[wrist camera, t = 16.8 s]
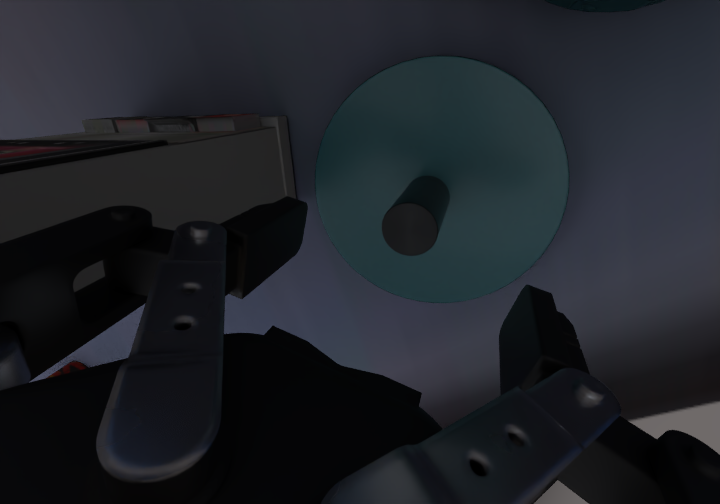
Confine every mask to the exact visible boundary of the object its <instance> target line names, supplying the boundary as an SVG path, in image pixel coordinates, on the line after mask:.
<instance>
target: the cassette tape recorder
mask: <svg viewBox="0 0 720 504" xmlns="http://www.w3.org/2000/svg"><path fill="white" fill-rule="evenodd" d="M82 123H83V126H84V129H85V132H82V133H73V134H63V135H54V136H44V137H35V138H25V139H16V140H0V244H1V243H4V242H7V241H9V240H12V239H15V238H18V237H21V236H24V235H27V234H30V233H33V232H36V231H39V230H42V229H45V228H48V227H51V226H54V225H57V224H59V223H62V222H65V221H68V220H71V219H74V218H77V217H80V216H83V215H86V214H89V213H92V212H95V211H98V210H101V209H104V208H107V207H112V206H121V205H127V206H136V207H141V208H144V209H146V210H148V211H149V212H150V213H151V214H152V223H153V227H159V228H164V229H169V230H174V231H175V229H176V228H177V227H178V226H179V225H181V224H183V223H186V222H191V221H208V222H213V223H216V224H220V223H222V222H225V221H227V220H229V219H231V218H233V217H235V216H237V215H241V213H243V212H245V211H248V210H249V209H251V208H253V207H255V206H257V205H262V204H268V203H274V202H276V201H278V200H280V199H282V198H284V197H286V196H289V197H292V198H295V199H296V193H295V185H294V176H293V168H292V159H291V151H290V142H289V134H288V126H287V117H286V116H264V117H259V114H224V115H206V116H180V117H147V116H146V117H115V118H102V119H89V120H82ZM104 276H105V273H104V267H103V261H99V262H97V263H95V264H93V265H91V266H89V267H87V268H85V269H83V270H82V271H80V272H79V273H78V275H77V276H76V277H75V279H74V282H73V289H74V292H76V291H78V290H80V289H82V288H84V287H85V286H87V285H89V284H91V283H93V282H95V281H97V280H99V279H101V278H102V277H104Z"/></svg>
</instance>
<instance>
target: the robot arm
mask: <svg viewBox="0 0 720 504" xmlns="http://www.w3.org/2000/svg"><path fill="white" fill-rule="evenodd" d="M307 210H308V206H307V203H306V202H303V201H300V200H298V199H295V198H292V197H289V196H286V197H284V198H282V199H280V200H278V201H276V202H274V203H268V204H262V205H257V206H255V207H253V208H251V209H249V210H248V211H245V212H243V213H241V215H237V216H235V217H233V218H231V219H229V220H227V221H225V222H222V223H220V224H216V223H213V222H208V221H191V222H186V223H183V224H181V225H179V226H178V227H177V228H176V229H175V231H174V230H169V229H164V228H159V227H153V223H152V214H151V213H150V212H149V211H148V210H146V209H144V208H141V207H136V206H127V205H121V206H112V207H107V208H104V209H101V210H98V211H95V212H92V213H89V214H86V215H83V216H80V217H77V218H74V219H71V220H68V221H65V222H62V223H59V224H57V225H54V226H51V227H48V228H45V229H42V230H39V231H36V232H33V233H30V234H27V235H24V236H21V237H18V238H15V239H12V240H9V241H7V242H4V243H1V244H0V504H534V502H536V501H537V500H538V499H539V498H540V497H541V496H542V494H544V493H545V492H546V491H547V490H548V489H549V488H550V487H551V486H552V485H553V484H554V483H555V482H556V481H557V480H559V481H560V482H561V483H563V484H564V485H565V486H567V487H568V488H569V489H571V490H572V491H573V492H574V493H576V494H577V495H578V496H580V497H581V498H582V499H584V500H585V501H586V502H588V503H589V504H720V455H719V454H718V453H717V452H715V451H714V450H713V449H711V448H710V447H709V446H708V445H706V444H705V443H703V442H701V441H700V440H698V439H696V438H695V437H692V436H691V435H688V434H686V433H684V432H681V431H677V430H669V431H666V432H665V433H664V434H663V435H662V436H660V437H659V438H658V439H655V438H654V437H652V436H651V435H649V434H647V433H646V432H644V431H643V430H641V429H639V428H638V427H636V426H635V425H633V424H632V423H630V422H628V421H627V420H625V419H624V418H622V417H621V416H620V414H621V406H620V404H619V402H618V400H617V398H616V397H615V395H614V394H613V393H612V392H611V391H610V390H609V389H608V388H607V387H606V386H605V385H604V384H603V383H602V382H600V381H599V380H598V379H596V378H595V377H593V376H591V375H590V373H589V370H588V367H587V364H586V362H585V359H584V356H583V353H582V350H581V349H580V344H579V341H578V339H577V335H576V332H575V330H574V327H573V325H572V324H571V323H570V321H569V320H568V319H567V318H566V317H565V315H564V314H563V313H560V312H558V311H557V310H556V306H555V303H554V299H553V296H552V294H551V293H549V292H546V291H544V290H541V289H538V288H535V287H533V286H530V285H526V286H525V287H524V288H523V289H522V291H521V292H520V294H519V296H518V298H517V299H516V301H515V303H514V305H513V306H512V308H511V310H510V312H509V313H508V315H507V317H506V319H505V320H504V322H503V325H502V327H501V330H500V335H499V353H500V390H501V396H499V397H497V398H496V399H494V400H492V401H490V402H489V403H487V404H485V405H484V406H482V407H480V408H478V409H477V410H475V411H473V412H472V413H470V414H468V415H467V416H465V417H463V418H461V419H460V420H458V421H456V422H455V423H453V424H451V425H450V426H448V427H446V428H444V429H442V428H441V427H440V425H439V424H438V423H437V422H436V421H435V420H434V419H433V418H432V417H431V416H430V415H429V414H428V413H426V412H425V411H424V410H423V409H422V408H420V407H419V403H420V398H421V394H422V393H420V392H418V391H416V390H414V389H412V388H409V387H407V386H405V385H403V384H401V383H398V382H396V381H394V380H392V379H390V378H387V377H385V376H383V375H379V374H375V373H370V372H366V371H361V370H357V369H353V368H348V367H344V366H341V365H339V364H337V363H336V362H334V361H333V360H332V359H330V358H329V357H328V356H326V355H325V354H324V353H322V352H321V351H320V350H318V349H317V348H316V347H314V346H313V345H312V344H310V343H309V342H308V341H306V340H303V339H301V338H299V337H297V336H295V335H292V334H290V333H288V332H286V331H284V330H281V329H279V328H277V327H275V326H272V327H271V328H270V329H269V330H268V331H267V332H266V334H265V335H260V334H253V333H231V334H224V311H225V296H226V295H227V294H231V295H233V296H236V297H238V298H240V299H243V298H244V297H245V296H247V295H248V294H249V293H250V292H251V291H253V290H254V289H255V288H256V287H257V286H259V285H260V284H261V283H262V282H263V281H265V280H266V279H267V278H268V277H269V276H271V275H272V274H273V273H274V272H275V271H277V270H278V269H279V268H280V267H281V266H283V265H284V264H285V263H286V262H287V261H289V260H290V259H291V258H292V257H293V256H295V255H296V253H297V252H298V250H299V249H300V246H301V244H302V240H303V234H304V228H305V222H306V216H307ZM99 261H103V267H104V273H105V276H104V277H102V278H101V279H99V280H97V281H95V282H93V283H91V284H89V285H87V286H85V287H84V288H82V289H80V290H78V291H76V292H74V289H73V282H74V279H75V277H76V276H77V275H78V273H79V272H80V271H82V270H83V269H85V268H87V267H89V266H91V265H93V264H95V263H97V262H99ZM145 303H146V304H145ZM143 304H145V307H144V311H143V314H142V317H141V320H140V323H139V327H138V330H137V333H136V336H135V339H134V343H133V346H132V349H131V352H130V355H129V357H128V358H126V359H122V360H118V361H114V362H110V363H106V364H102V365H98V366H94V367H90V368H86V369H82V370H78V371H74V372H70V373H66V374H62V375H58V376H54V377H50V378H46V379H42V380H38V381H34V382H30V381H31V380H33V379H34V378H35V377H37V376H38V375H40V374H41V373H43V372H44V371H46V370H47V369H49V368H50V367H52V366H53V365H55V364H56V363H58V362H59V361H61V360H62V359H64V358H65V357H67V356H68V355H69V354H71V353H72V352H74V351H75V350H77V349H78V348H80V347H81V346H83V345H84V344H86V343H87V342H89V341H90V340H92V339H93V338H95V337H96V336H98V335H99V334H100V333H102V332H103V331H105V330H106V329H108V328H109V327H111V326H112V325H114V324H115V323H117V322H118V321H120V320H121V319H123V318H124V317H126V316H127V315H129V314H130V313H132V312H133V311H134V310H136V309H137V308H139V307H140V306H142V305H143ZM29 382H30V383H29Z"/></svg>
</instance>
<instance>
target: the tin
mask: <svg viewBox="0 0 720 504" xmlns="http://www.w3.org/2000/svg"><path fill="white" fill-rule="evenodd" d="M545 1H547V2H549V3H552V4H555V5H558V6H561V7H564V8H567V9H573V10H579V11H586V12H614V11H630V10H634V9H637V8H641V7H644V6H648V5H652V4H656V3H660V2H663V1H665V0H545Z"/></svg>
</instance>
